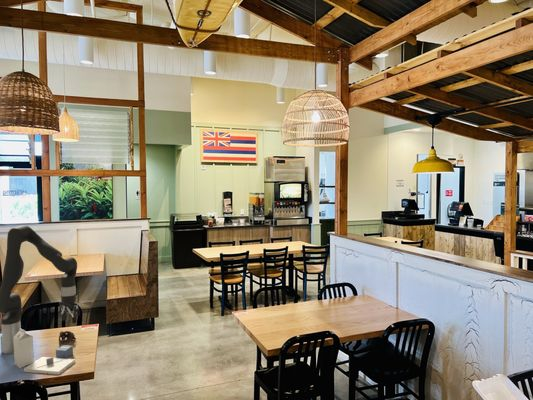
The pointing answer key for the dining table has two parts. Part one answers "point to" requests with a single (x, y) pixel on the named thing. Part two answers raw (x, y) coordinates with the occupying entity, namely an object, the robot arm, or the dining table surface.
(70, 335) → the dark brown rounded lump
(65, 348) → the blue-grey block
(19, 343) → the milk carton
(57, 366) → the shaft plate
